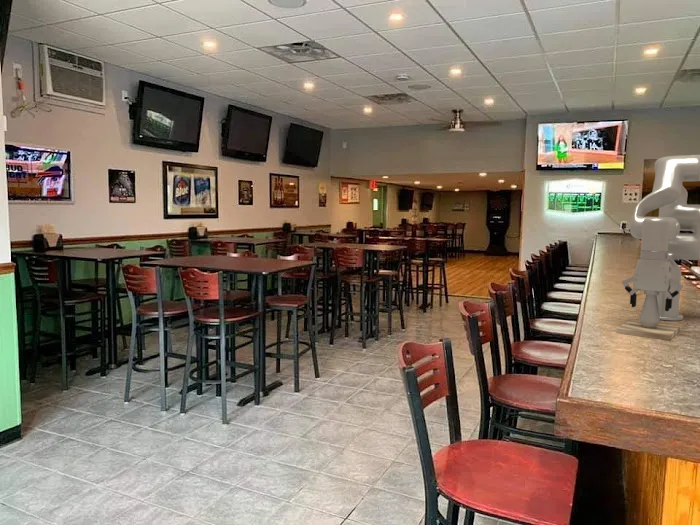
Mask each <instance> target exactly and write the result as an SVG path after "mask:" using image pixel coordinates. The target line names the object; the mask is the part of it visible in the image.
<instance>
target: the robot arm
mask: <svg viewBox="0 0 700 525" xmlns="http://www.w3.org/2000/svg"><path fill="white" fill-rule="evenodd" d="M653 166H654V169H653V170H654V175H655V177H654V181H653V185H652V186H653V187H652V190H651V191H652V192H650V193H649V194H647V195H645V196H644V197H643V198H642V199H641V200H640V201H638V202H637V204H636V205H635V207H634V208H633V212H632V216H631V220H630V225H629V232H630V235H631V236H632V237H633V238H635V239H638V240H641V241H640V242H641V243H640V253H639V254H640V256H639V259H638V260H637V262H636V266H635V270H634V276H632V277H629V278H626V279H624V280H622V281H621V283H622V285H623V287H624V290H626V292H627V293H628V294H629V295H630V296H629V297H630V298H629V304H630V305H631V308H636V306H637V297H638V295H637V294H636V293H637V292H638V291H643V292H644V291H647V290H652V291H655V292H659V295H657V301H658V309H659V317H660V321H672V322H673V321H676V322H677V321H683V320H684V315H682V314H679V310H680V297H681V291H682V290H683V288H684V285H682V282H681V281H682V270H681V267H680V266H679V264H678V263H676V261H674V260H687V261H688V260H690V261H699V260H700V204H688V202H687V201H688V194H689V193H688V191H687V189H686V188H685V187H684V185H683V182H700V154H689V155H687V154H686V155H684V154H683V155H667V156H663V157H660V158H658V159H656V161H654V165H653ZM657 209H658V216H646V214H648V213H650V212H653V211H654V210H657ZM680 231H683V232H680ZM689 231H690V232H691V233H690V232H689ZM688 232H689V233H688ZM632 282H633V288H632V287H631V286H630V285H629V283H632Z"/></svg>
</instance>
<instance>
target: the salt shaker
mask: <svg viewBox="0 0 700 525" xmlns="http://www.w3.org/2000/svg"><path fill="white" fill-rule="evenodd" d="M643 294H645V297H644V298H645V299H644V301H643V305H642V308H641V313H640V314H639V315H640V316H639V320H638V321H640V322H641V325H642V327H645V328H656V327H657V326H658V324H660V321H661V320H660V317H659V309H658V301H657V295H659V292H655V291H652V290H647V291H643Z"/></svg>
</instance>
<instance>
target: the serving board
mask: <svg viewBox="0 0 700 525" xmlns="http://www.w3.org/2000/svg"><path fill="white" fill-rule="evenodd" d="M680 331H681V326H680V325H673V324H672V325H671V324H665V323H664V324H663V323H659V324H658V326H657V327H656V328H645V327H642V325H641V322H640V320H632V319H629V320H628V321H626V322H624V323H623V324H620V325H619V326H618V327H616V334H617V333H618V334H621V335H622V334H624V335H631V336H636V337H637V336H638V337H642V336H643V337H644V338H650V339H657V340H664V341H671V340H672V339H673V338H674V337H676V335H677V334H678V333H680ZM643 337H642V338H643Z"/></svg>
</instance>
